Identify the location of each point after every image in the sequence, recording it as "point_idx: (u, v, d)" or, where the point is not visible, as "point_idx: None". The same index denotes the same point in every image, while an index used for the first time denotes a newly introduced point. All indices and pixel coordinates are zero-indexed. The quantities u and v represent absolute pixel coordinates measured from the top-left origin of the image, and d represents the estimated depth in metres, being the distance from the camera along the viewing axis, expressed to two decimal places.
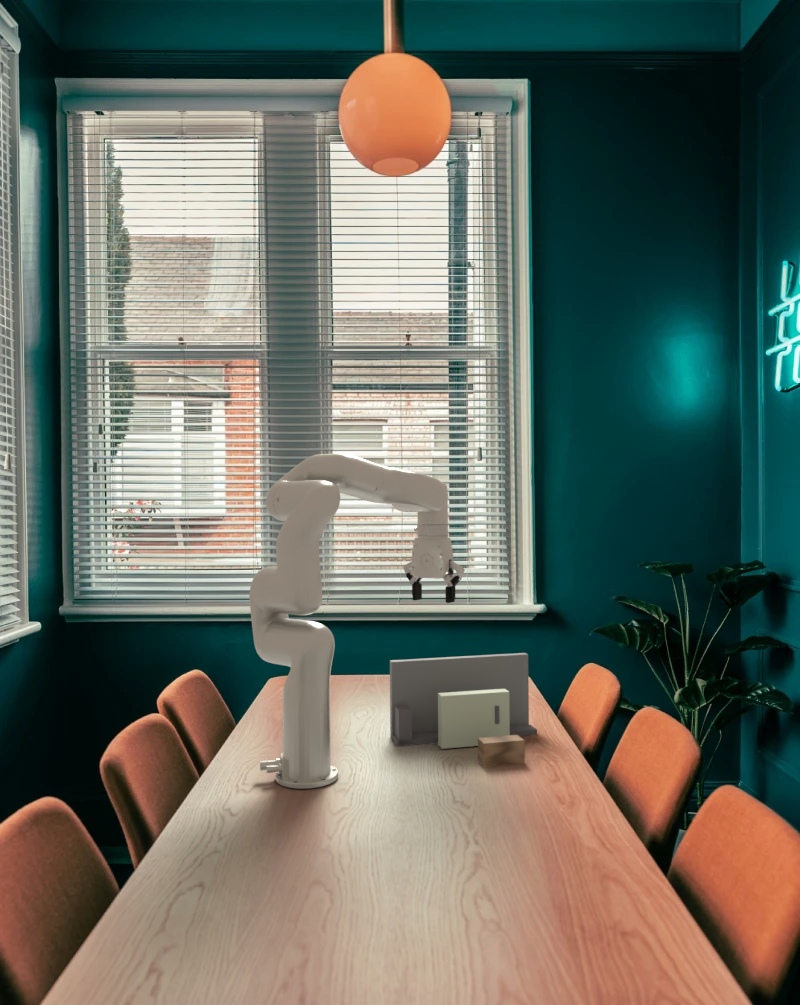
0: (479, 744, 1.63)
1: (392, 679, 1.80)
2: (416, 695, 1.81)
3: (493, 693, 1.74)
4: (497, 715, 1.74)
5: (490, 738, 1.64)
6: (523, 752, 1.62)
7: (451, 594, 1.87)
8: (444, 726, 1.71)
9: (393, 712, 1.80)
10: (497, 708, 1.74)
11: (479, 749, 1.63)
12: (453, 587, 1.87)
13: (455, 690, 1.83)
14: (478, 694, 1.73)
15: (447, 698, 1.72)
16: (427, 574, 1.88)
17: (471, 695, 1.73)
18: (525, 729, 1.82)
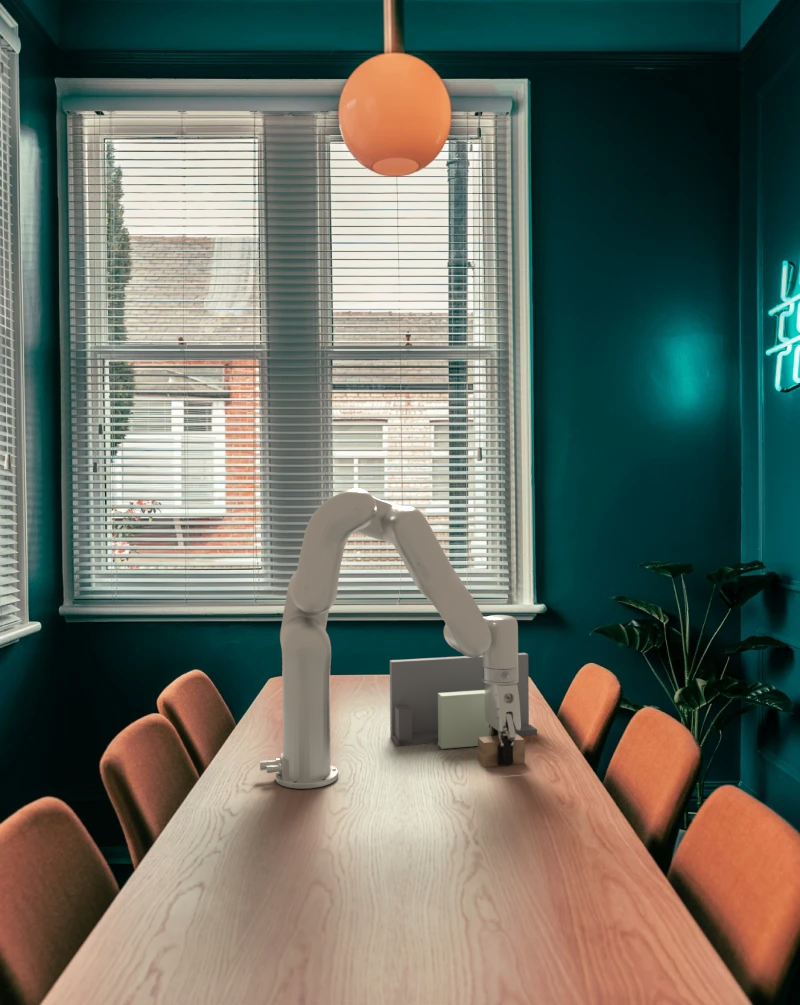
0: (479, 743, 1.63)
1: (392, 679, 1.80)
2: (416, 695, 1.81)
3: None
4: None
5: (490, 737, 1.64)
6: (523, 751, 1.62)
7: None
8: (444, 726, 1.71)
9: (393, 712, 1.80)
10: None
11: (479, 748, 1.63)
12: None
13: (455, 690, 1.83)
14: (478, 694, 1.73)
15: (447, 698, 1.72)
16: None
17: (471, 695, 1.73)
18: (525, 729, 1.82)
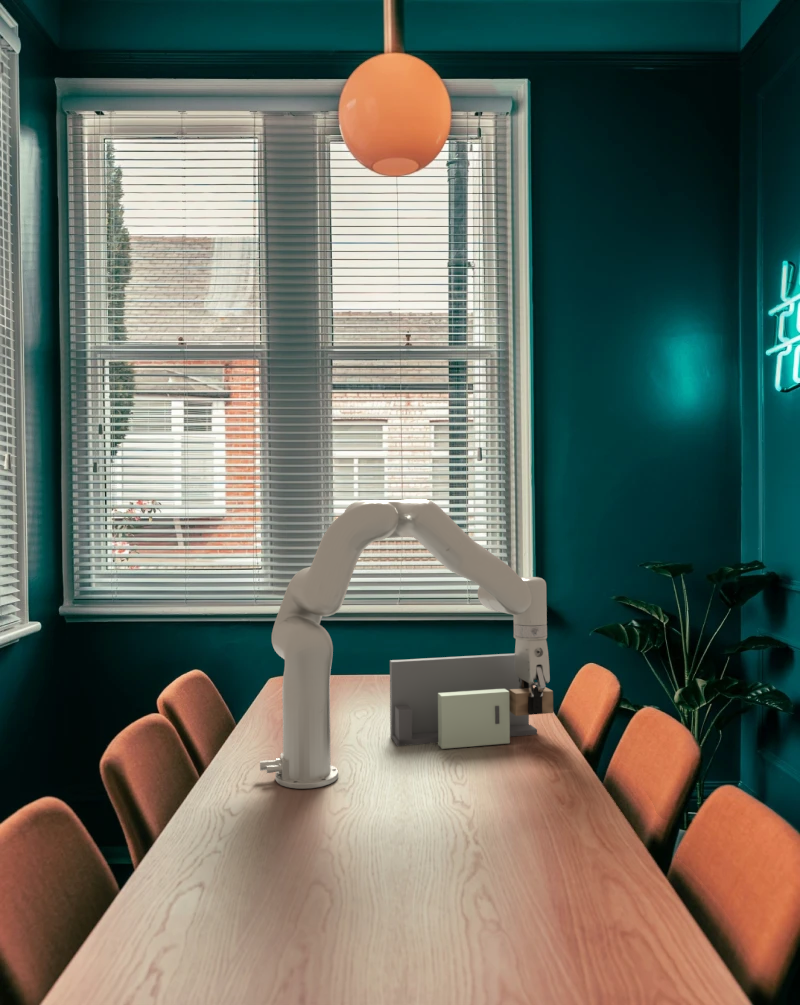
0: (511, 695, 1.76)
1: (392, 679, 1.80)
2: (416, 695, 1.81)
3: (493, 693, 1.74)
4: (497, 715, 1.74)
5: (521, 689, 1.77)
6: (552, 702, 1.76)
7: None
8: (444, 726, 1.71)
9: (393, 712, 1.80)
10: (497, 708, 1.74)
11: (511, 699, 1.77)
12: None
13: (455, 690, 1.83)
14: (478, 694, 1.73)
15: (447, 698, 1.72)
16: None
17: (471, 695, 1.73)
18: (525, 729, 1.82)
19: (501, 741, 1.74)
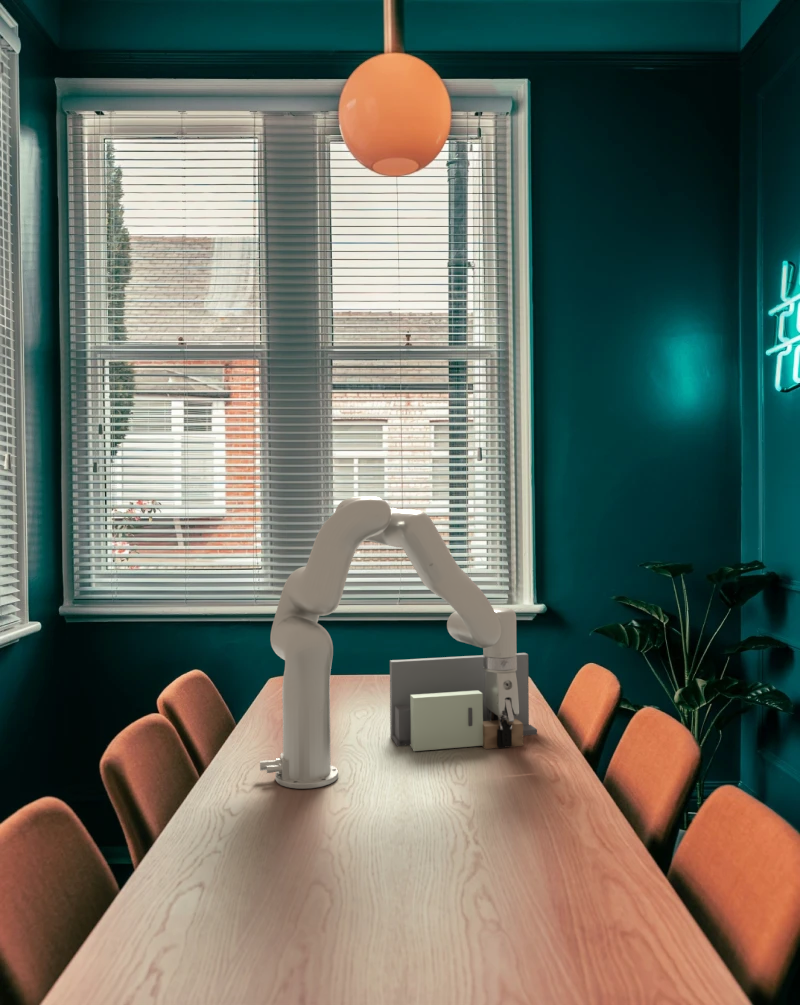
0: None
1: (392, 679, 1.80)
2: None
3: (466, 695, 1.73)
4: (470, 717, 1.72)
5: (491, 722, 1.75)
6: (522, 735, 1.74)
7: None
8: (416, 728, 1.70)
9: (393, 712, 1.80)
10: (470, 710, 1.72)
11: None
12: None
13: (455, 690, 1.83)
14: (451, 696, 1.72)
15: (419, 700, 1.70)
16: None
17: (444, 697, 1.71)
18: (525, 729, 1.82)
19: (474, 743, 1.73)
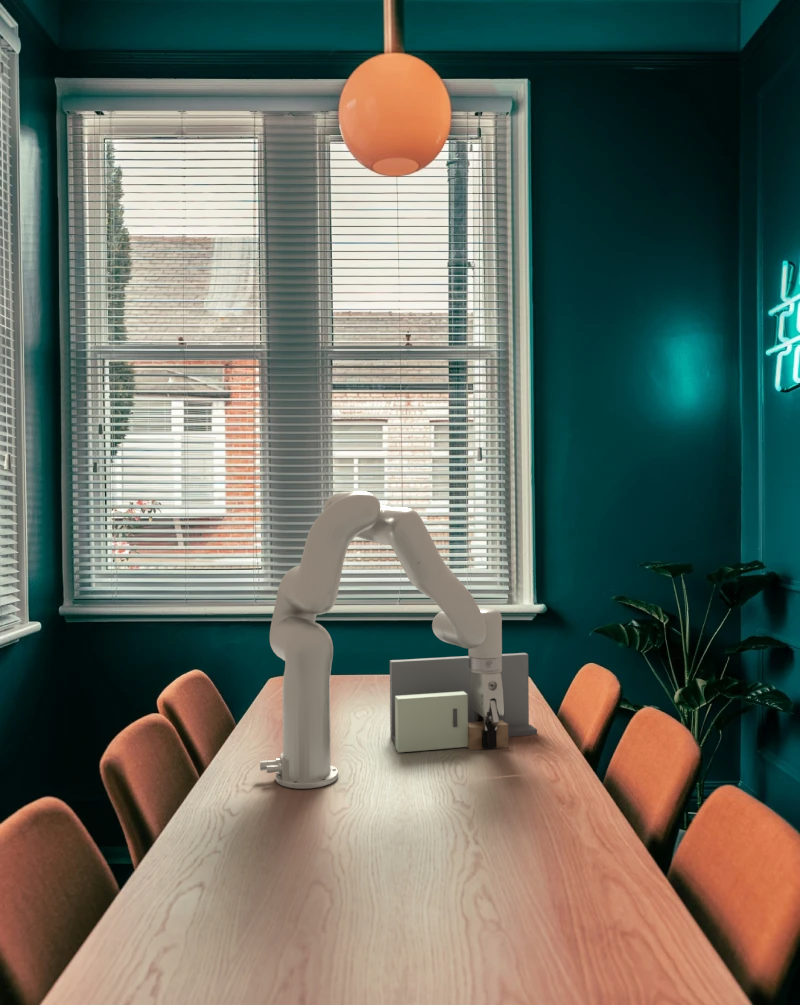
0: None
1: (392, 679, 1.80)
2: None
3: (451, 696, 1.72)
4: (455, 718, 1.72)
5: (476, 723, 1.75)
6: (507, 736, 1.73)
7: None
8: (400, 729, 1.69)
9: (393, 712, 1.80)
10: (455, 711, 1.72)
11: None
12: None
13: (455, 690, 1.83)
14: (435, 697, 1.71)
15: (404, 701, 1.69)
16: None
17: (428, 698, 1.71)
18: (525, 729, 1.82)
19: (459, 744, 1.72)
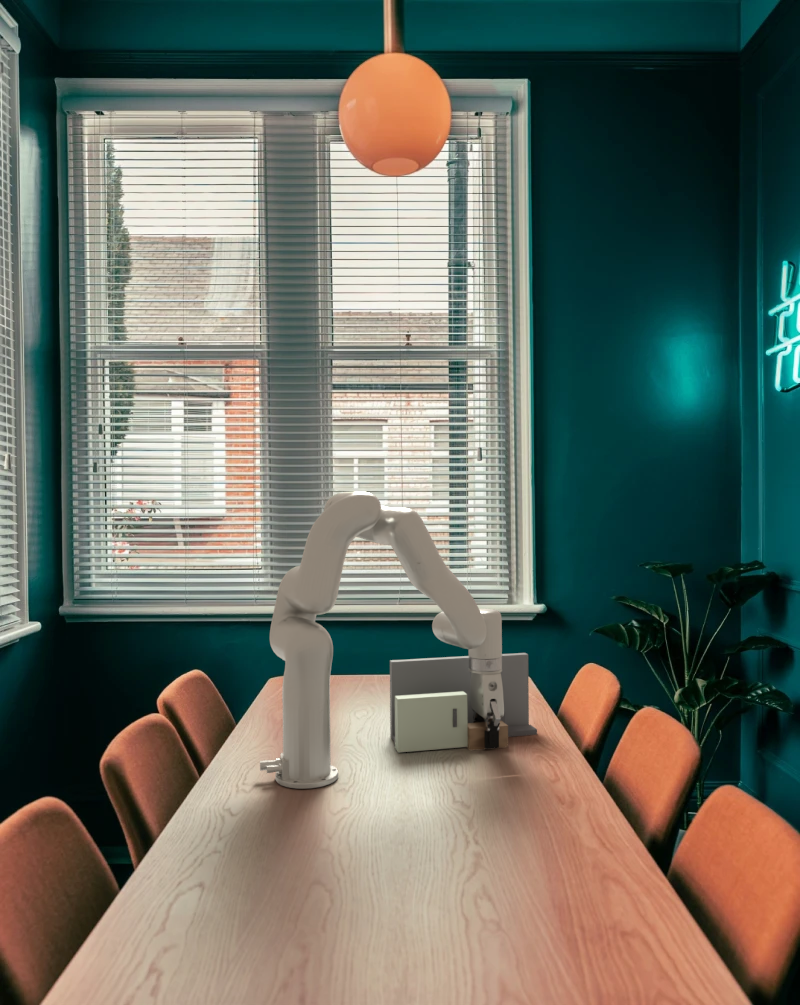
0: None
1: (392, 679, 1.80)
2: None
3: (451, 696, 1.72)
4: (455, 718, 1.72)
5: (476, 724, 1.74)
6: (507, 737, 1.73)
7: None
8: (400, 729, 1.69)
9: (393, 712, 1.80)
10: (455, 711, 1.72)
11: None
12: None
13: (455, 690, 1.83)
14: (435, 697, 1.71)
15: (404, 701, 1.69)
16: None
17: (428, 698, 1.71)
18: (525, 729, 1.82)
19: (459, 744, 1.72)
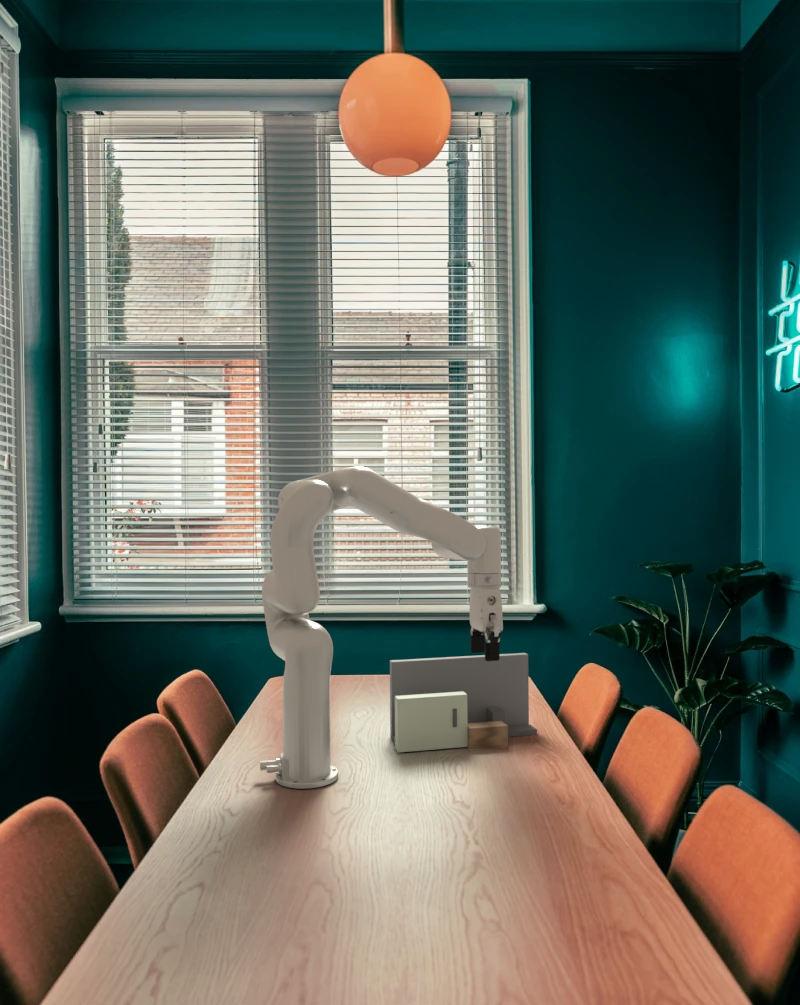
0: None
1: (392, 679, 1.80)
2: None
3: (451, 696, 1.72)
4: (455, 718, 1.72)
5: (476, 724, 1.75)
6: (506, 737, 1.73)
7: None
8: (400, 729, 1.69)
9: (393, 712, 1.80)
10: (455, 711, 1.72)
11: None
12: None
13: (455, 690, 1.83)
14: (435, 697, 1.71)
15: (404, 701, 1.69)
16: None
17: (428, 698, 1.71)
18: (525, 729, 1.82)
19: (459, 744, 1.72)
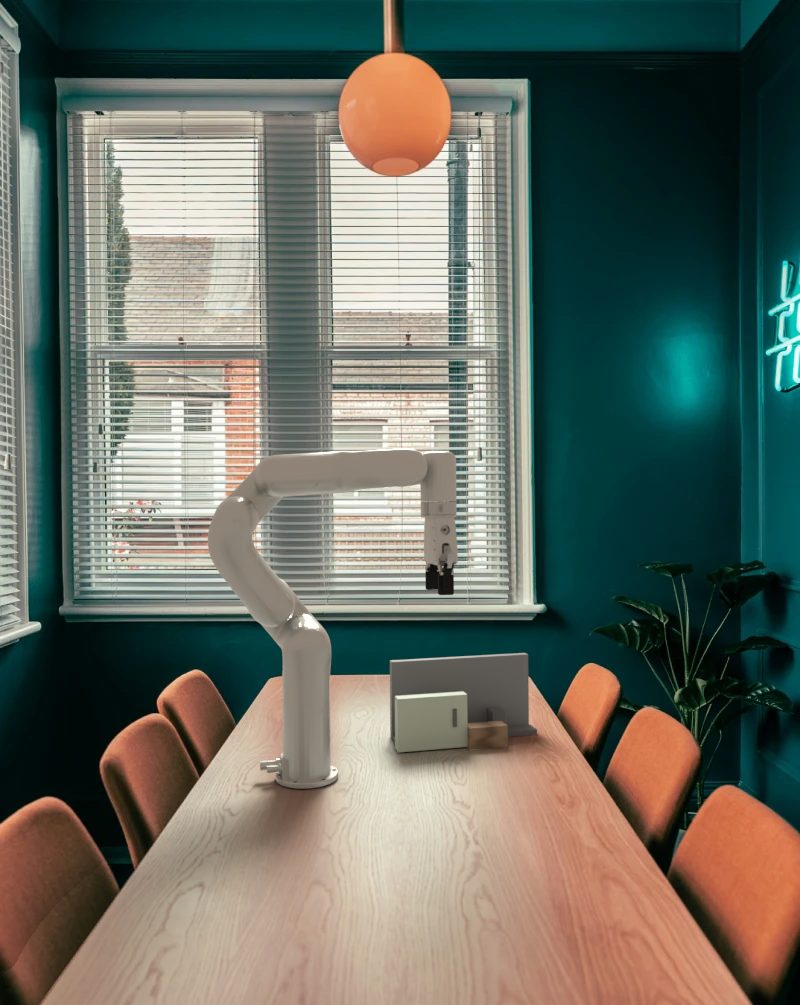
0: None
1: (392, 679, 1.80)
2: None
3: (451, 696, 1.72)
4: (455, 718, 1.72)
5: (476, 724, 1.75)
6: (506, 736, 1.73)
7: None
8: (400, 729, 1.69)
9: (393, 712, 1.80)
10: (455, 711, 1.72)
11: None
12: None
13: (455, 690, 1.83)
14: (435, 697, 1.71)
15: (403, 701, 1.69)
16: None
17: (428, 698, 1.71)
18: (525, 729, 1.82)
19: (459, 744, 1.72)
